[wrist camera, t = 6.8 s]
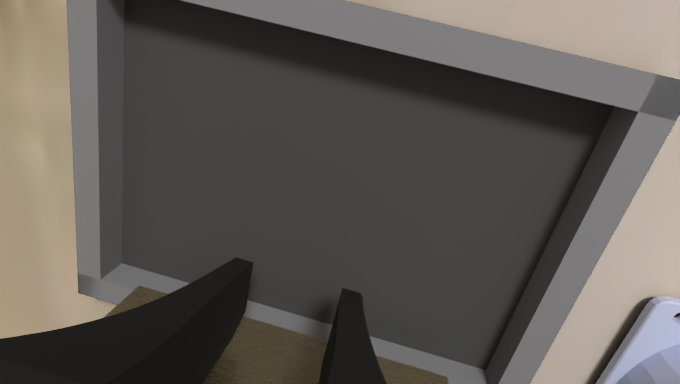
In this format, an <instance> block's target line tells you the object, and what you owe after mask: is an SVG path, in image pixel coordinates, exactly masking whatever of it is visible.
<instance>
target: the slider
mask: <svg viewBox="0 0 680 384" xmlns="http://www.w3.org/2000/svg"><path fill="white" fill-rule="evenodd" d="M165 295H167V294H166V293H163V292H160V291H156V290H153V289H149V288H146V287H143V286H138V287H137V288H136V289H135V290H134V291H133V292H131V293H130V294H129V295H128V296H127V297H126V298H125V299H124V300H123V301H122V302H120V303H119V304H118V305H117V306H116V307H115V308H114V309H113V310H112V311H110V312H109V313H108V314H107V315H106V316H105V317H108V316H111V315H115V314H118V313H121V312H124V311H127V310H130V309H133V308H136V307H138V306H141V305H144V304H146V303H149V302H151V301H154V300H156V299H159V298H161V297H163V296H165ZM105 317H104V318H105ZM327 343H328V341H325V340H321V339H318V338H314V337H311V336H308V335H304V334H301V333H298V332H294V331H291V330H288V329H284V328H281V327H277V326H274V325H271V324H267V323H264V322H261V321H257V320H254V319H250V318H247V317H244V316H243V317H242V320H241V322H240V324H239V326H238V328H237V330H236V332H235V334H234V336H233V338H232V339H231V341H230V342H229V344H228V345H227V347H226V348H225V350H224V352H223V353H222V355H221V356H220V358H219V359H218V361H217V362H216V364H215V365H214V367H213V368H212V370H211V371H210V373H209V374H208V376H207V377H206V379H205V380H204V382H203V383H202V384H319V378H320V372H321V366H322V362H323V358H324V354H325V350H326V347H327ZM376 358H377V361H378V364H379V366H380V369H381V371H382V374H383V376H384V378H385V381H386V383H387V384H448V377H446V376H442V375H439V374H436V373H432V372H429V371H426V370H422V369H419V368H416V367H412V366H409V365H405V364H402V363H399V362H395V361H392V360H389V359H385V358H382V357H378V356H376Z"/></svg>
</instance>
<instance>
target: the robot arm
mask: <svg viewBox="0 0 680 384" xmlns="http://www.w3.org/2000/svg"><path fill="white" fill-rule="evenodd" d="M252 268H253V262H251V261H247V260H244V259H240V258H237V257H236V258H234V259H232V260H230V261H229V262H227V263H225V264H223V265H222V266H220V267H218V268H216V269H215V270H213V271H211V272H210V273H208V274H206V275H204V276H202V277H201V278H199V279H197V280H195V281H193V282H191V283H190V284H188V285H186V286H184V287H182V288H180V289H178V290H176V291H174V292H171V293H169V294H167V295H165V296H163V297H161V298H159V299H156V300H154V301H151V302H149V303H146V304H144V305H141V306H138V307H136V308H133V309H130V310H127V311H124V312H121V313H118V314H115V315H111V316H108V317H105V318H102V319H98V320H95V321H91V322H87V323H83V324H79V325H75V326H71V327H66V328H62V329H57V330H52V331H47V332H41V333H35V334H29V335H23V336H17V337H11V338H3V339H0V384H202V383H203V382H204V380H205V379H206V377H207V376H208V374H209V373H210V371H211V370H212V368H213V367H214V365H215V364H216V362H217V361H218V359H219V358H220V356H221V355H222V353H223V352H224V350H225V348H226V347H227V345H228V344H229V342H230V341H231V339H232V338H233V336H234V334H235V332H236V330H237V328H238V326H239V324H240V322H241V320H242V317H243V315H244V313H245V311H246V306H247V299H248V293H249V287H250V281H251V275H252ZM677 313H680V300H679V299H676V298H672V297H668V296H660V297H655V298H654V299H652V300H650V301H649V302H648V303H647V304H646V306H645V308H644V309H643V311H642V312H641V314H640V315H639V317H638V318H637V320H636V322H635V323H634V325H633V326H632V328H631V329H630V331H629V332H628V334H627V336H626V337H625V339H624V340H623V342H622V343H621V345H620V346H619V348H618V349H617V351H616V353H615V354H614V356H613V357H612V359H611V360H610V362H609V363H608V365H607V367H606V368H605V370H604V371H603V373H602V374H601V376H600V377H599V379H598V381H597V382H596V384H680V316H678V317H674V316H675V315H676V314H677ZM319 384H387V383H386V381H385V378H384V376H383V374H382V371H381V369H380V366H379V364H378V361H377V358H376V355H375V352H374V349H373V346H372V343H371V339H370V335H369V332H368V328H367V324H366V319H365V314H364V307H363V296H362V295H361V293H359V292H355V291H352V290H348V289H345V288H342V291H341V295H340V299H339V302H338V306H337V310H336V313H335V317H334V321H333V324H332V328H331V332H330V335H329V339H328V343H327V347H326V350H325V354H324V358H323V362H322V366H321V372H320V378H319Z"/></svg>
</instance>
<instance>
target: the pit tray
mask: <svg viewBox="0 0 680 384" xmlns="http://www.w3.org/2000/svg"><path fill="white" fill-rule="evenodd" d="M67 24H68V49H69V73H70V97H71V122H72V146H73V170H74V195H75V219H76V243H77V268H78V292H79V293H80V294H84V295H87V296H90V297H94V298H97V299H100V300H104V301H107V302H110V303H114V304H117V305H118V304H119V303H120V302H122V301H123V300H124V299H125V298H126V297H127V296H128V295H129V294H130V293H131V292H133V291H134V290H135V289H136V288H137V287H138V286H143V287H146V288H149V289H153V290H156V291H160V292H163V293H166V294H169V293H171V292H174V291H176V290H178V289H180V288H182V287H184V286H186V285H188V284H190V283H191V282H193V281H195V280H197V279H199V278H201V277H202V276H204V275H206V274H208V273H210V272H211V271H213V270H215V269H216V268H218V267H220V266H222V265H223V264H225V263H227V262H229V261H230V260H232V259H234V258H236V257H237V258H240V259H244V260H247V261H251V262H253V268H252V275H251V281H250V287H249V293H248V299H247V306H246V311H245V313H244V315H243V316H244V317H247V318H250V319H254V320H257V321H261V322H264V323H267V324H271V325H274V326H277V327H281V328H284V329H288V330H291V331H294V332H298V333H301V334H304V335H308V336H311V337H314V338H318V339H321V340H325V341H328V339H329V335H330V332H331V328H332V324H333V321H334V317H335V313H336V310H337V306H338V302H339V299H340V295H341V291H342V288H345V289H348V290H352V291H355V292H359V293H361V295H362V296H363V307H364V314H365V319H366V324H367V328H368V332H369V335H370V339H371V343H372V346H373V349H374V352H375V355H376V356H378V357H382V358H385V359H389V360H392V361H395V362H399V363H402V364H405V365H409V366H412V367H416V368H419V369H422V370H426V371H429V372H432V373H436V374H439V375H442V376H446V377H448V384H530V383H531V381H532V379H533V377H534V375H535V374H536V372H537V370H538V368H539V366H540V365H541V363H542V361H543V359H544V357H545V356H546V354H547V352H548V350H549V348H550V347H551V345H552V343H553V341H554V339H555V338H556V336H557V334H558V332H559V330H560V329H561V327H562V325H563V323H564V321H565V320H566V318H567V316H568V314H569V312H570V311H571V309H572V307H573V305H574V303H575V302H576V300H577V298H578V296H579V295H580V293H581V291H582V289H583V287H584V286H585V284H586V282H587V280H588V278H589V277H590V275H591V273H592V271H593V269H594V268H595V266H596V264H597V262H598V260H599V259H600V257H601V255H602V253H603V251H604V250H605V248H606V246H607V244H608V242H609V241H610V239H611V237H612V235H613V233H614V232H615V230H616V228H617V226H618V224H619V223H620V221H621V219H622V217H623V215H624V214H625V212H626V210H627V208H628V206H629V205H630V203H631V201H632V199H633V197H634V196H635V194H636V192H637V190H638V188H639V187H640V185H641V183H642V181H643V179H644V178H645V176H646V174H647V172H648V170H649V169H650V167H651V165H652V163H653V161H654V160H655V158H656V156H657V154H658V152H659V151H660V149H661V147H662V145H663V144H664V142H665V140H666V138H667V136H668V135H669V133H670V131H671V129H672V127H673V126H674V124H675V122H676V120H677V118H678V117H679V115H680V80H678V79H674V78H670V77H666V76H662V75H657V74H653V73H649V72H645V71H640V70H636V69H632V68H628V67H624V66H619V65H615V64H611V63H607V62H602V61H598V60H594V59H590V58H586V57H581V56H577V55H573V54H569V53H564V52H560V51H556V50H552V49H547V48H543V47H539V46H535V45H531V44H526V43H522V42H518V41H514V40H509V39H505V38H501V37H497V36H493V35H488V34H484V33H480V32H476V31H471V30H467V29H463V28H459V27H455V26H450V25H446V24H442V23H438V22H433V21H429V20H425V19H421V18H416V17H412V16H408V15H404V14H400V13H395V12H391V11H387V10H383V9H378V8H374V7H370V6H366V5H362V4H357V3H353V2H349V1H345V0H67Z"/></svg>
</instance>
